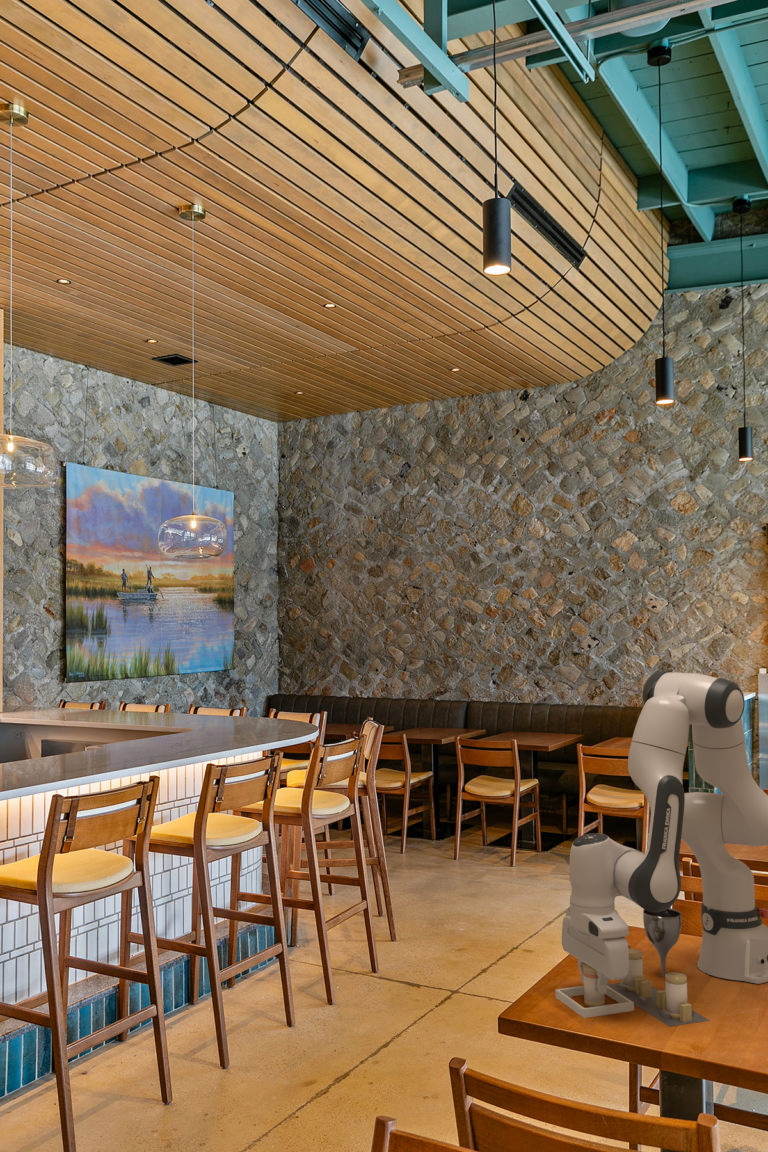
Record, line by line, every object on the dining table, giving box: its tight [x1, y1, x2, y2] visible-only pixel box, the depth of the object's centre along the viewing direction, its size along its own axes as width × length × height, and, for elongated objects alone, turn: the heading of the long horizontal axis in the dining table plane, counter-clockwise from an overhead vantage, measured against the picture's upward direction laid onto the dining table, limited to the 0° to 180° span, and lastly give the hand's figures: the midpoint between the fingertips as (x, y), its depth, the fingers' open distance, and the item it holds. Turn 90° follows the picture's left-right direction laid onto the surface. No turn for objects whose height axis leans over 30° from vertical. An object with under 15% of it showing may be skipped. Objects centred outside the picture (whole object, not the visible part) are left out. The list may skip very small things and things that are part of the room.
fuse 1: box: [623, 948, 644, 992], centre depth 195 cm, size 4×4×8 cm
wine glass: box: [642, 907, 682, 978], centre depth 203 cm, size 8×8×15 cm
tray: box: [554, 985, 635, 1019], centre depth 187 cm, size 11×11×3 cm
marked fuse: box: [583, 963, 606, 1007], centre depth 187 cm, size 4×4×8 cm
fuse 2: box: [664, 971, 688, 1020], centre depth 181 cm, size 4×4×8 cm
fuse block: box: [607, 976, 711, 1028], centre depth 188 cm, size 9×23×4 cm, turn 18°
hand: (593, 987), depth 187 cm, fingers closed on marked fuse, 4 cm apart
